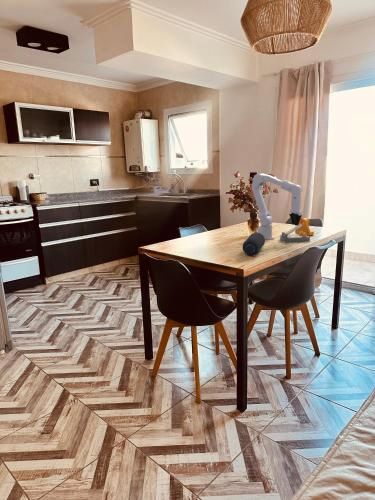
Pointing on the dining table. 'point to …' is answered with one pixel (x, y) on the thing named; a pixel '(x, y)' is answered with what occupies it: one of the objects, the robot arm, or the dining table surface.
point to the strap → (293, 229)
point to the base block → (295, 237)
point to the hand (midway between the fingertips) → (295, 224)
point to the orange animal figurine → (304, 227)
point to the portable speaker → (253, 244)
